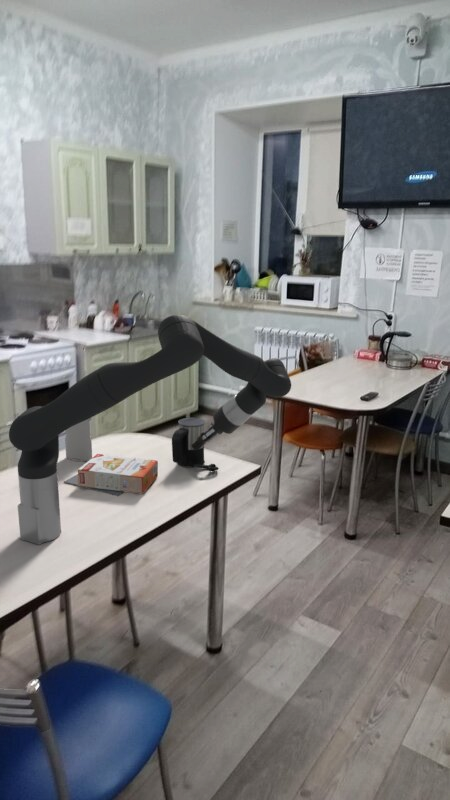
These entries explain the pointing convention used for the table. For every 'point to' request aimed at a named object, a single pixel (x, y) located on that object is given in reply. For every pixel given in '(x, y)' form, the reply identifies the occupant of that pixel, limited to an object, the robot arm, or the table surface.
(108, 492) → the mat
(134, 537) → the table surface
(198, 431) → the milk frother
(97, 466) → the cracker box
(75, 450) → the tall pale column
